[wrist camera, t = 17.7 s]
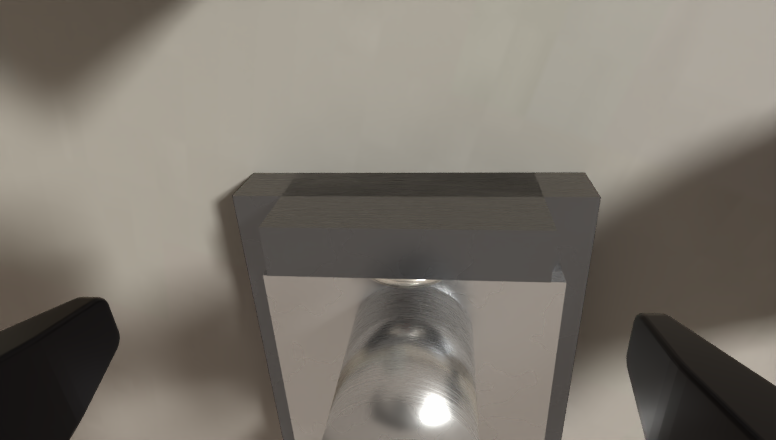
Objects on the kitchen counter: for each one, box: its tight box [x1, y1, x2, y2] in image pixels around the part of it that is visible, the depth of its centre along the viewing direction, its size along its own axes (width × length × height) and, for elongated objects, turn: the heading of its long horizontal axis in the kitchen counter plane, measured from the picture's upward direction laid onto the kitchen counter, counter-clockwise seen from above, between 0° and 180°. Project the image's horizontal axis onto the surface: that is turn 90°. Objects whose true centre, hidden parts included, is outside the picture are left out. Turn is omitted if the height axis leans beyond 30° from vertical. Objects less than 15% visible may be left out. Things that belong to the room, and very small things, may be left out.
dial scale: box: [232, 173, 601, 440], centre depth 22 cm, size 14×15×5 cm
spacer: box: [322, 286, 479, 440], centre depth 18 cm, size 5×5×6 cm
